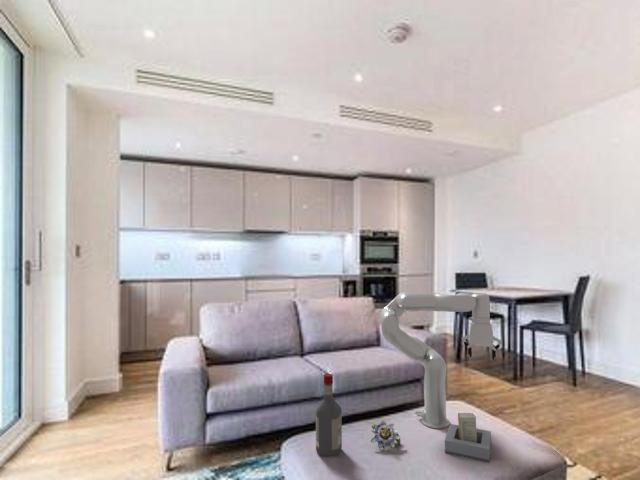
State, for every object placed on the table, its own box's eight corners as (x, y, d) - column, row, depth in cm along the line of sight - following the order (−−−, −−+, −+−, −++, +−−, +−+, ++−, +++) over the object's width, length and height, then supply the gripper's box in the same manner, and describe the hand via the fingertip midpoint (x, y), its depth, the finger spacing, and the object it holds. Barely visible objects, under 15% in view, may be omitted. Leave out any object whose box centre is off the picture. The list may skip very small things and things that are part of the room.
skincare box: (474, 443, 157) (473, 412, 157) (477, 448, 152) (476, 417, 153) (458, 442, 157) (457, 412, 158) (460, 447, 153) (460, 416, 153)
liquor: (343, 447, 156) (342, 372, 157) (336, 458, 148) (335, 379, 149) (321, 443, 159) (321, 370, 160) (314, 454, 151) (313, 377, 152)
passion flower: (385, 463, 154) (370, 442, 151) (378, 445, 164) (363, 425, 162) (408, 447, 154) (393, 426, 151) (399, 430, 164) (385, 410, 162)
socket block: (444, 453, 151) (444, 440, 151) (450, 435, 165) (450, 423, 165) (489, 462, 144) (489, 449, 144) (491, 443, 158) (490, 431, 158)
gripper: (460, 320, 178) (461, 357, 178) (501, 323, 171) (502, 361, 170) (462, 317, 185) (462, 353, 184) (501, 320, 177) (502, 357, 177)
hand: (481, 357), depth 177 cm, fingers open, 9 cm apart
